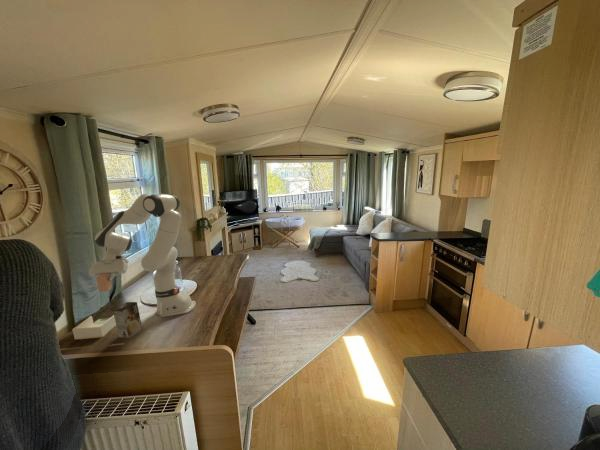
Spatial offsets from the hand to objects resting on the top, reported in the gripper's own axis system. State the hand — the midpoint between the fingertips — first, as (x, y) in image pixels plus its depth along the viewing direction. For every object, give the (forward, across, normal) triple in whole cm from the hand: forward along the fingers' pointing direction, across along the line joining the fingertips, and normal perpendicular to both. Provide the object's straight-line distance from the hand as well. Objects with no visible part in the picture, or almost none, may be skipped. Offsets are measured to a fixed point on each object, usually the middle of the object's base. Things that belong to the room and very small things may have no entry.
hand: (104, 281), depth 153 cm
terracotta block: (+4, 0, +3) cm, 5 cm away
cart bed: (+27, +2, +6) cm, 28 cm away
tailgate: (+22, +2, +10) cm, 24 cm away
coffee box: (+31, +22, +3) cm, 38 cm away
